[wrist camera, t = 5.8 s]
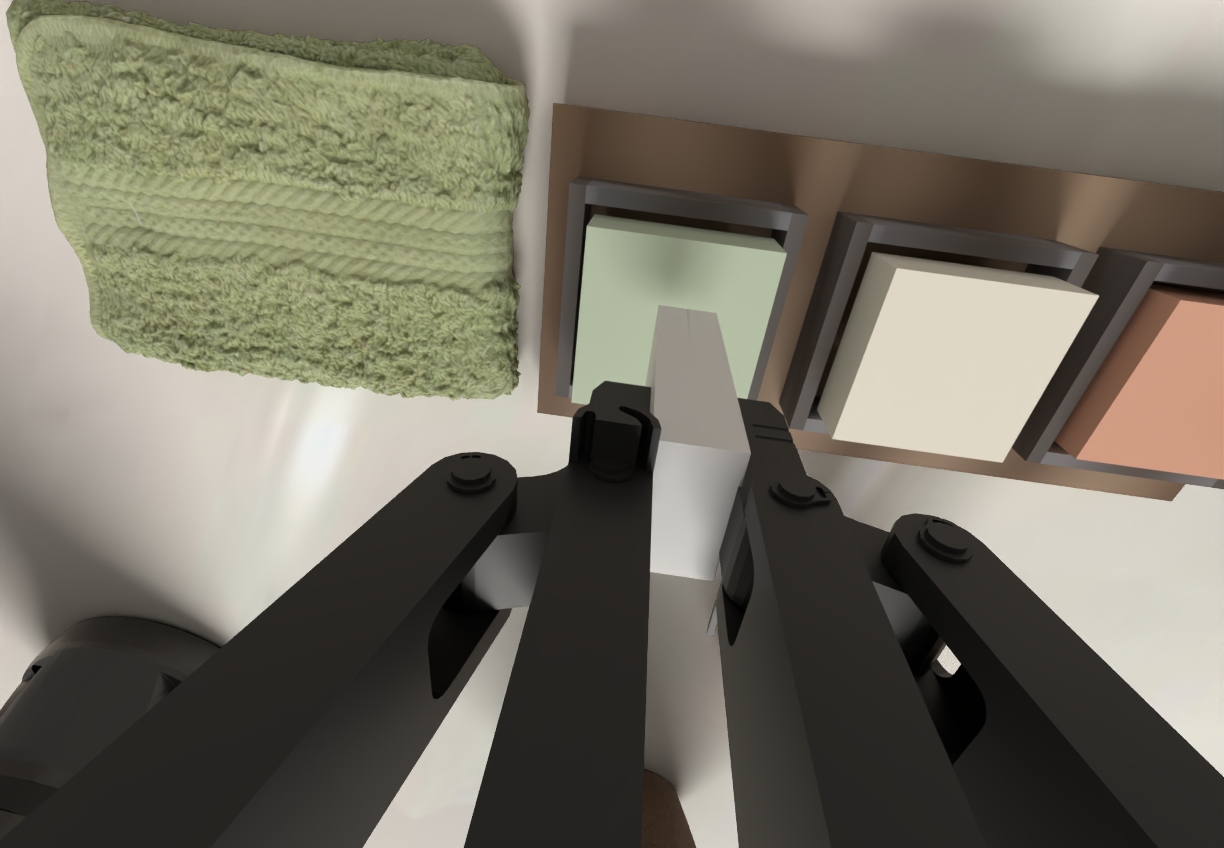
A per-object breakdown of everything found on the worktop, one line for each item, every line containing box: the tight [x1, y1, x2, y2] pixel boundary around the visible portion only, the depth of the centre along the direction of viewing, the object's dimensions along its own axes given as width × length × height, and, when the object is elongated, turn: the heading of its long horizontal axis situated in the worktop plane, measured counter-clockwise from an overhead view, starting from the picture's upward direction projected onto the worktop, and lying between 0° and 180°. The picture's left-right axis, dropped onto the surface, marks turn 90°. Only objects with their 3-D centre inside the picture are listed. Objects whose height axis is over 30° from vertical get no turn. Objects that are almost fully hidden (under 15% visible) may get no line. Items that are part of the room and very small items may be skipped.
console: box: [537, 103, 1224, 501], centre depth 19 cm, size 26×11×4 cm, turn 84°
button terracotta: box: [1054, 284, 1224, 480], centre depth 18 cm, size 6×6×2 cm
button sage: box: [571, 214, 787, 405], centre depth 17 cm, size 6×6×2 cm
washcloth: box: [6, 0, 530, 400], centre depth 20 cm, size 13×18×3 cm
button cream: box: [817, 252, 1099, 463], centre depth 17 cm, size 6×6×2 cm
